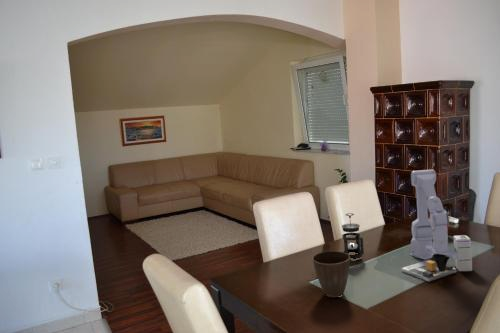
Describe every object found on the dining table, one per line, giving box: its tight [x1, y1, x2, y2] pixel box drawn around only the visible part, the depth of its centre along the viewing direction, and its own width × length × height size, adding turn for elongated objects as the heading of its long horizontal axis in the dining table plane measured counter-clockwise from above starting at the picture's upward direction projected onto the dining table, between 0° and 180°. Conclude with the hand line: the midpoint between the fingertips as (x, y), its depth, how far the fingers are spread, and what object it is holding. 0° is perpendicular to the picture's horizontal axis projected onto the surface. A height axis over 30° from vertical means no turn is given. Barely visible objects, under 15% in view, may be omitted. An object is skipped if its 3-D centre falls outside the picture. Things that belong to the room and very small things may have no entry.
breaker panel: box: [400, 259, 458, 283], centre depth 182 cm, size 15×17×3 cm
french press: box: [341, 212, 365, 259], centre depth 207 cm, size 12×9×23 cm
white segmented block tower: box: [453, 234, 473, 272], centre depth 181 cm, size 6×6×14 cm
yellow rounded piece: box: [425, 259, 436, 271], centre depth 180 cm, size 3×3×4 cm
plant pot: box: [312, 250, 351, 296], centre depth 168 cm, size 15×15×16 cm
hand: (441, 270), depth 175 cm, fingers closed
